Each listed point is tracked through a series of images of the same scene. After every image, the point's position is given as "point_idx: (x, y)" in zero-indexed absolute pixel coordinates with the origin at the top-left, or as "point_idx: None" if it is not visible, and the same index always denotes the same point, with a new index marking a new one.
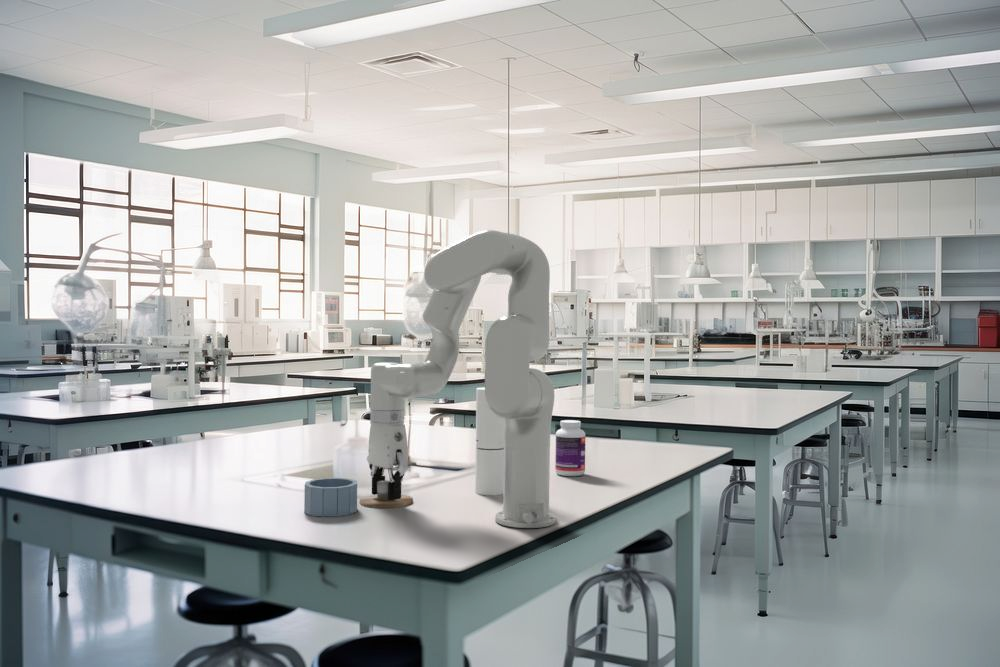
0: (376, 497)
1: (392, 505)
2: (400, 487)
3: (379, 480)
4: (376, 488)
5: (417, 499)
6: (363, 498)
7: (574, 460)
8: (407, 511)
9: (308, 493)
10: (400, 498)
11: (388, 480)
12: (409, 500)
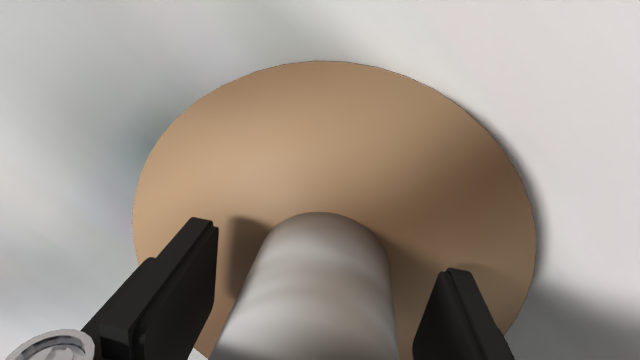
0: None
1: None
2: (499, 348)
3: (163, 356)
4: (197, 322)
5: (454, 25)
6: None
7: None
8: (629, 345)
9: None
10: (381, 185)
11: (250, 331)
12: (504, 196)
